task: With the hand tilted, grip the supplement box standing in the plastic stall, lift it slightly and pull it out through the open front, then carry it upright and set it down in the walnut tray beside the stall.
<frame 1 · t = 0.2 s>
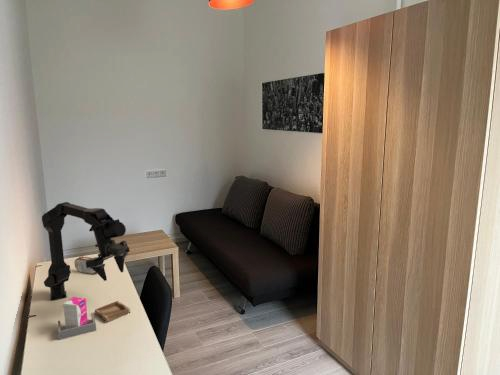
hand: (114, 276, 152), 15 cm above the table, tool tilted 15°, fingers open, 9 cm apart
stall: (77, 328, 142), on the table
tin: (88, 273, 194), on the table
tray: (112, 313, 152), on the table
supplement box: (77, 328, 142), resting in stall
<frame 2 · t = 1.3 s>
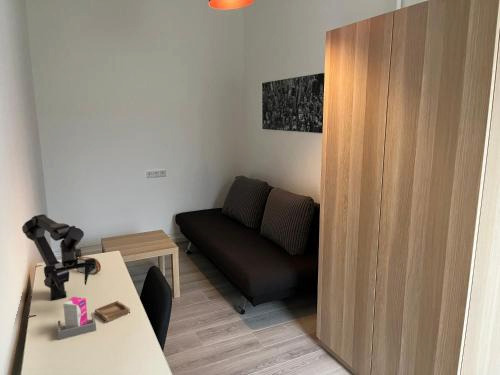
hand: (72, 287, 146), 13 cm above the table, tool tilted 45°, fingers open, 9 cm apart
nothing on the table moved.
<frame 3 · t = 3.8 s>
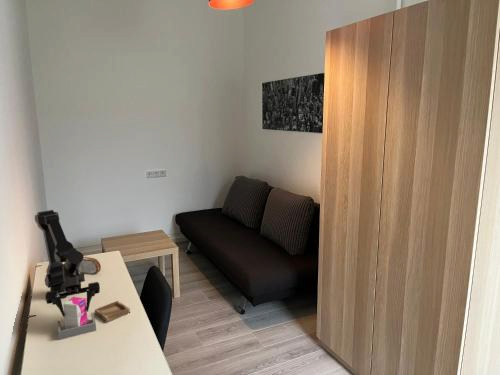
hand: (75, 313, 140), 7 cm above the table, tool tilted 45°, fingers closed on supplement box, 8 cm apart
supplement box: (77, 328, 142), resting in stall, touching gripper
everything else where it was.
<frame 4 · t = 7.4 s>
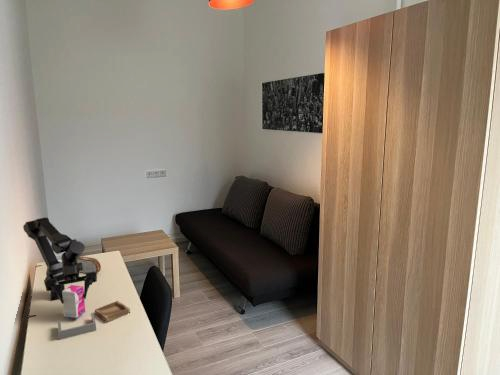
hand: (73, 301, 147), 8 cm above the table, tool tilted 45°, fingers closed on supplement box, 8 cm apart
supplement box: (75, 315, 150), point 1 cm above the table, touching gripper
everything else where it was.
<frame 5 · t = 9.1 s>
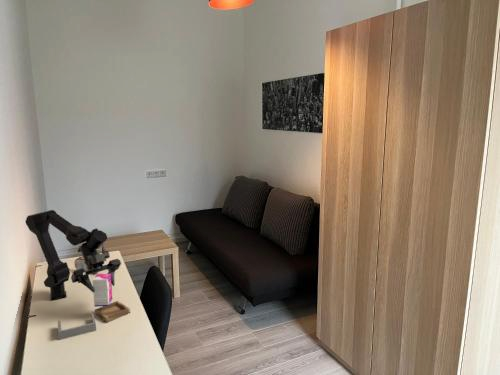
hand: (104, 288, 148), 12 cm above the table, tool tilted 45°, fingers closed on supplement box, 8 cm apart
supplement box: (103, 303, 150), point 5 cm above the table, touching gripper
everything else where it was.
when the fingers open (8 cm above the table, at t = 10.8 s): supplement box stays where it is, resting on tray.
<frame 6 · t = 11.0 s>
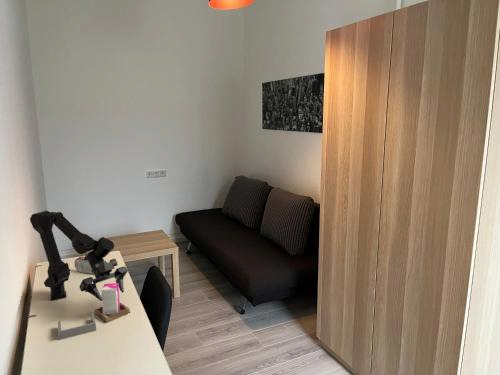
hand: (112, 296, 150), 8 cm above the table, tool tilted 45°, fingers open, 9 cm apart
supplement box: (112, 312, 152), resting on tray
everything else where it was.
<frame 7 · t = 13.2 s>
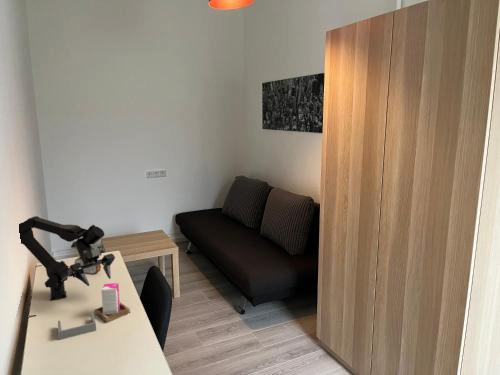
hand: (99, 281, 155), 12 cm above the table, tool tilted 45°, fingers open, 9 cm apart
nothing on the table moved.
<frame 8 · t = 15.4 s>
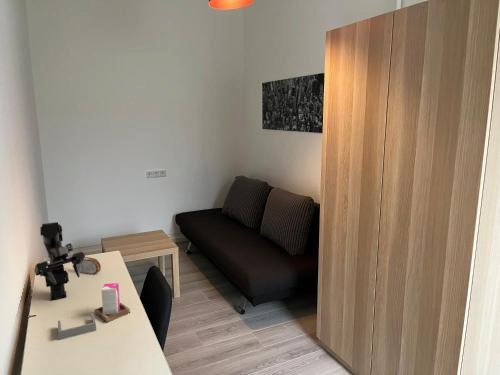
hand: (67, 280, 152), 14 cm above the table, tool tilted 45°, fingers open, 9 cm apart
nothing on the table moved.
at the end: supplement box 0.3 cm off-centre on the tray, point 0.4 cm above the tray's base; supplement box tilted 0°; the gripper is holding nothing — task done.
